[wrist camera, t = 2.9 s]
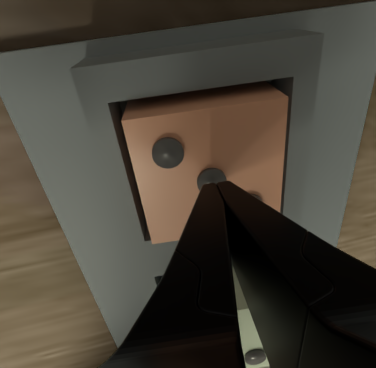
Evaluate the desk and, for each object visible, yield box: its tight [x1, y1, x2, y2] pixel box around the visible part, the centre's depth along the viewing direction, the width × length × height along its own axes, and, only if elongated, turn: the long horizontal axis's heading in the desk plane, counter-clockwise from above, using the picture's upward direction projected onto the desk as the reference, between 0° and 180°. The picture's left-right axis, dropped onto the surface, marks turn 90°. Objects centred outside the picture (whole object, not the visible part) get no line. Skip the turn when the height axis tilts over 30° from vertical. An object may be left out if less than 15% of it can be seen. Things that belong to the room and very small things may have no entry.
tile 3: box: [121, 81, 288, 244], centre depth 11 cm, size 5×5×2 cm
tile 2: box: [232, 266, 270, 368], centre depth 14 cm, size 5×5×2 cm
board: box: [0, 0, 376, 367], centre depth 16 cm, size 25×14×2 cm, turn 7°
